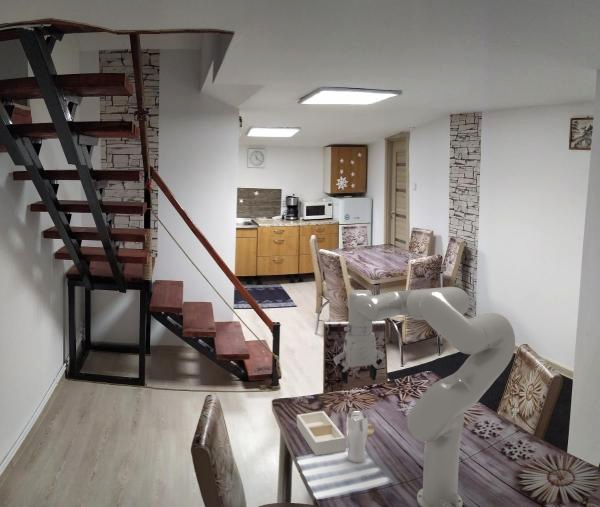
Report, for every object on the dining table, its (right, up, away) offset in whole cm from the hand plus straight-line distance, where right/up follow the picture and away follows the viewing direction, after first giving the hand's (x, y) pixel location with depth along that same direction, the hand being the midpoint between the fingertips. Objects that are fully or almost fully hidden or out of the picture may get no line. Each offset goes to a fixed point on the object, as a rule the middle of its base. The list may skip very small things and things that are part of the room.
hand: (358, 380), depth 173 cm
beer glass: (0, -27, +4) cm, 27 cm away
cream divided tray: (-12, -24, +17) cm, 32 cm away
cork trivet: (+3, -23, +23) cm, 33 cm away
